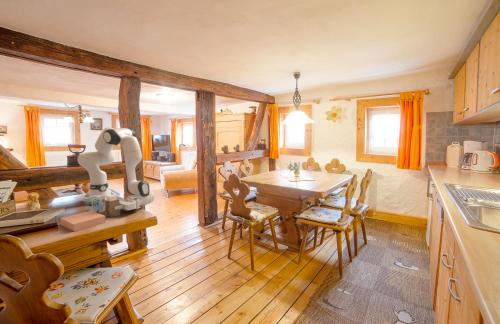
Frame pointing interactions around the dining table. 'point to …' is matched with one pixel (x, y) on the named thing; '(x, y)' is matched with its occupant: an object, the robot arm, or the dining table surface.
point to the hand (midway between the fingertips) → (111, 207)
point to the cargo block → (111, 197)
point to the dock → (82, 220)
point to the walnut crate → (112, 208)
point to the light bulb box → (95, 203)
